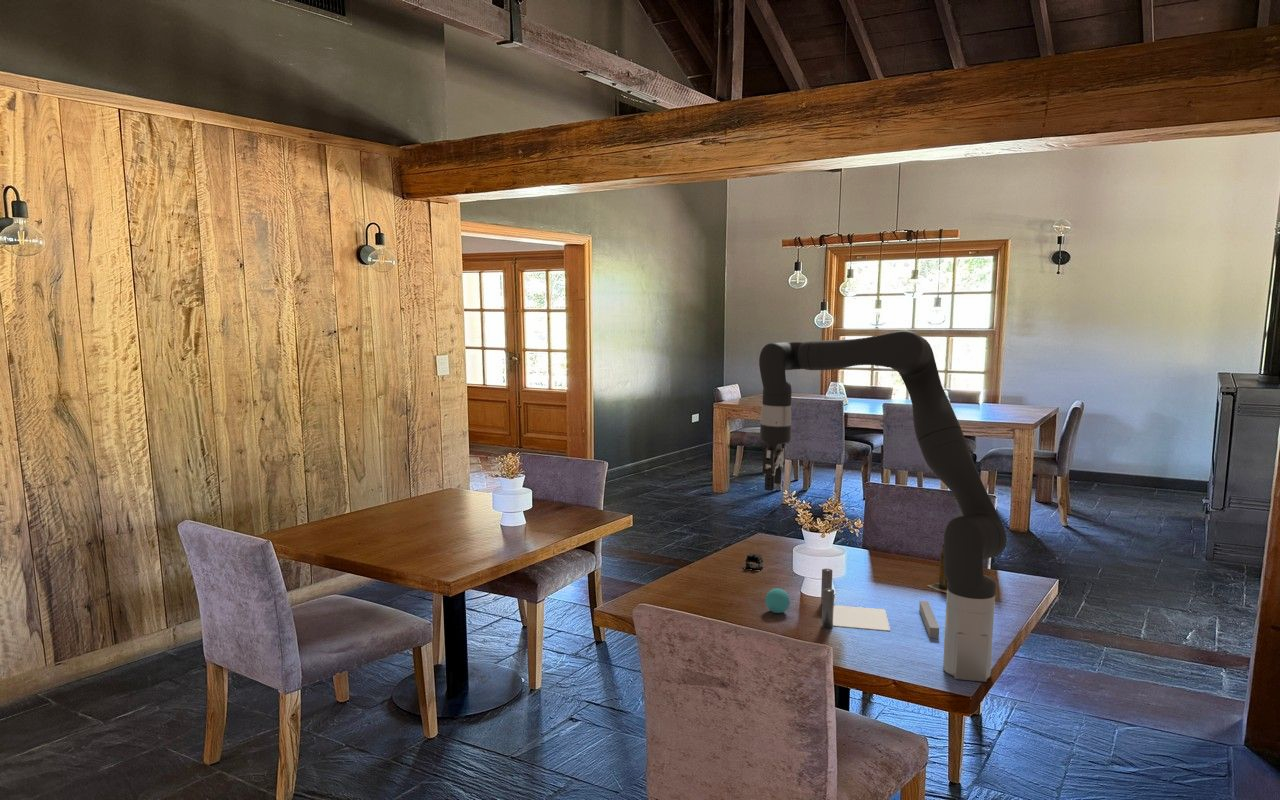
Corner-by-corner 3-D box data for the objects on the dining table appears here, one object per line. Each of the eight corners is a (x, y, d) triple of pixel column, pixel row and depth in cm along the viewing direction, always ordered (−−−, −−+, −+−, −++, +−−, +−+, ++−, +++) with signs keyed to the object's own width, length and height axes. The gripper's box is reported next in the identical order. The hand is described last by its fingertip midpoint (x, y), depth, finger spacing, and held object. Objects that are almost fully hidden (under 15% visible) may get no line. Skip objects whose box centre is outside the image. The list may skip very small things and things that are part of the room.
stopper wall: (938, 638, 185) (939, 628, 184) (929, 637, 185) (930, 627, 185) (927, 610, 202) (928, 601, 202) (919, 610, 202) (919, 600, 202)
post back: (831, 606, 205) (832, 572, 204) (820, 605, 205) (822, 571, 204) (831, 602, 207) (832, 569, 206) (820, 602, 208) (821, 568, 207)
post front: (832, 629, 189) (834, 592, 188) (821, 628, 190) (823, 591, 189) (832, 625, 192) (834, 588, 191) (821, 624, 192) (822, 588, 191)
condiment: (969, 589, 219) (971, 546, 218) (949, 594, 215) (952, 550, 213) (946, 581, 225) (948, 539, 224) (926, 586, 221) (928, 544, 219)
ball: (789, 617, 196) (790, 594, 196) (764, 615, 198) (765, 592, 197) (789, 609, 202) (790, 586, 202) (765, 607, 203) (766, 584, 203)
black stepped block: (729, 570, 235) (730, 555, 235) (738, 563, 242) (739, 548, 241) (770, 577, 229) (770, 561, 229) (778, 570, 236) (779, 555, 235)
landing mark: (890, 631, 189) (890, 630, 189) (829, 625, 192) (829, 625, 192) (885, 610, 202) (885, 609, 202) (828, 605, 205) (828, 604, 205)
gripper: (785, 427, 191) (781, 494, 193) (796, 420, 204) (793, 482, 206) (754, 425, 194) (751, 491, 196) (767, 418, 207) (764, 479, 209)
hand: (773, 486), depth 201 cm, fingers open, 8 cm apart
